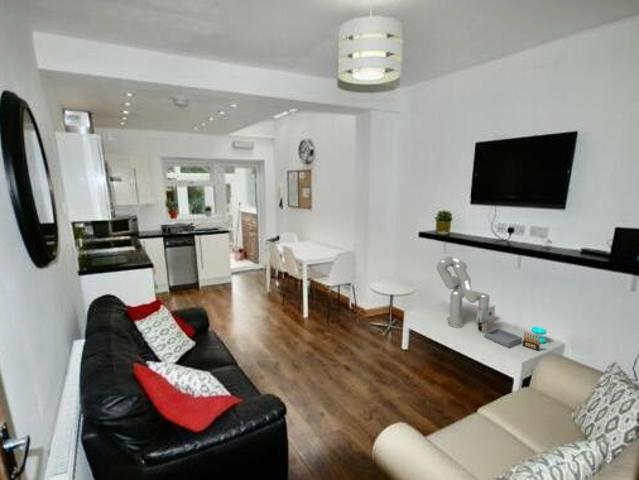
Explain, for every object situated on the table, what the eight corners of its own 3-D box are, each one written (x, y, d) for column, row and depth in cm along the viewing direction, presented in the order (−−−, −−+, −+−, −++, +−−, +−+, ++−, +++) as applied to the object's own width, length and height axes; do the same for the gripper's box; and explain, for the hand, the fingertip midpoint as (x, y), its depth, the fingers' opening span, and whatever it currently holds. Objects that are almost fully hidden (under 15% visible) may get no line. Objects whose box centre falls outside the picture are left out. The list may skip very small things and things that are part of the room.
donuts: (542, 326, 259) (549, 331, 249) (541, 338, 260) (548, 344, 251) (528, 325, 260) (534, 331, 251) (527, 337, 262) (533, 343, 252)
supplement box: (487, 323, 289) (488, 307, 286) (478, 319, 297) (479, 304, 294) (494, 321, 293) (495, 305, 290) (485, 317, 301) (486, 302, 298)
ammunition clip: (522, 346, 249) (523, 331, 247) (523, 345, 250) (524, 330, 248) (538, 351, 241) (539, 335, 239) (539, 350, 242) (540, 335, 240)
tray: (484, 337, 264) (484, 332, 263) (497, 332, 271) (497, 327, 270) (508, 348, 246) (508, 342, 246) (521, 343, 254) (522, 337, 253)
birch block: (477, 331, 275) (478, 321, 274) (481, 329, 277) (482, 320, 276) (482, 333, 271) (483, 323, 270) (486, 331, 273) (486, 322, 272)
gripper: (486, 305, 278) (484, 325, 281) (472, 309, 270) (471, 330, 274) (494, 308, 271) (493, 328, 275) (480, 312, 264) (479, 333, 267)
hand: (482, 329), depth 274 cm, fingers closed on birch block, 4 cm apart
